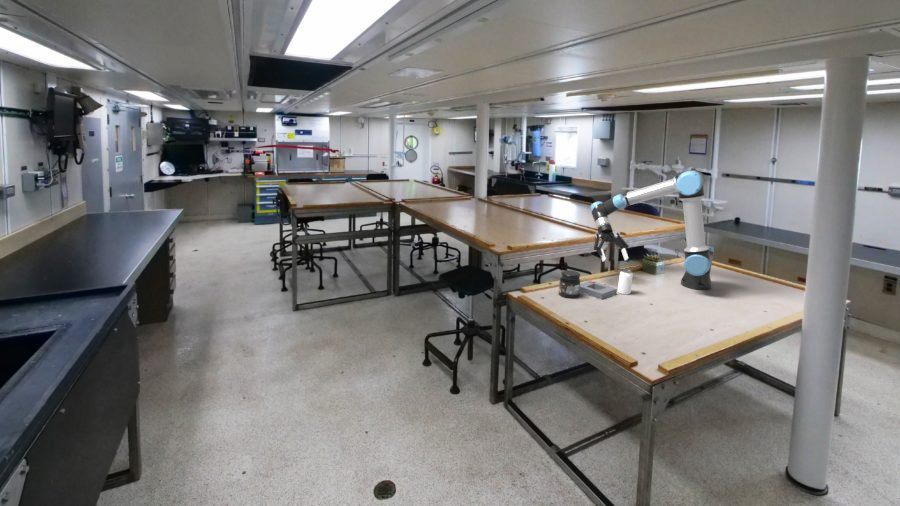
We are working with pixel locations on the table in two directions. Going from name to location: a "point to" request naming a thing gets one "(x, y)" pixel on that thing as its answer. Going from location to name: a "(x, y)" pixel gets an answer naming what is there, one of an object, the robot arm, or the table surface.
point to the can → (625, 282)
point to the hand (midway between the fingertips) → (615, 260)
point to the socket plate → (597, 289)
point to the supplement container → (569, 284)
